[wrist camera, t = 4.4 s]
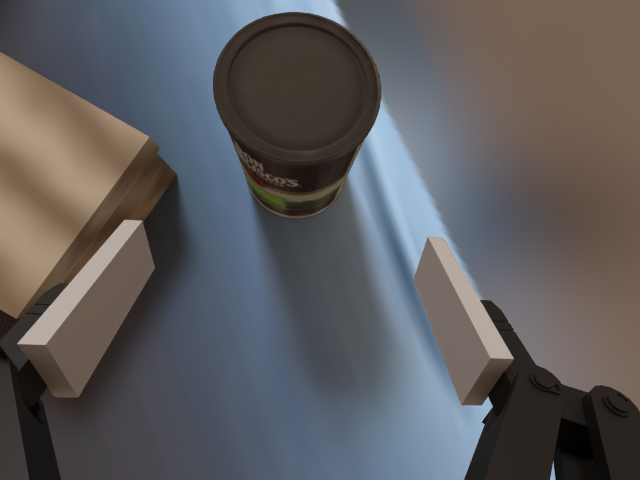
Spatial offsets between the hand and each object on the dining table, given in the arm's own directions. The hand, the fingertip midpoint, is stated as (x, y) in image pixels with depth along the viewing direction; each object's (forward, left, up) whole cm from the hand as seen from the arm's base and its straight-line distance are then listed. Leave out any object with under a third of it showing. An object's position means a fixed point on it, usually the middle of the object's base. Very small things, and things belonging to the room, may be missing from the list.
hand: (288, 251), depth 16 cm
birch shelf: (-4, +25, -17) cm, 30 cm away
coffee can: (+10, +5, -17) cm, 20 cm away
